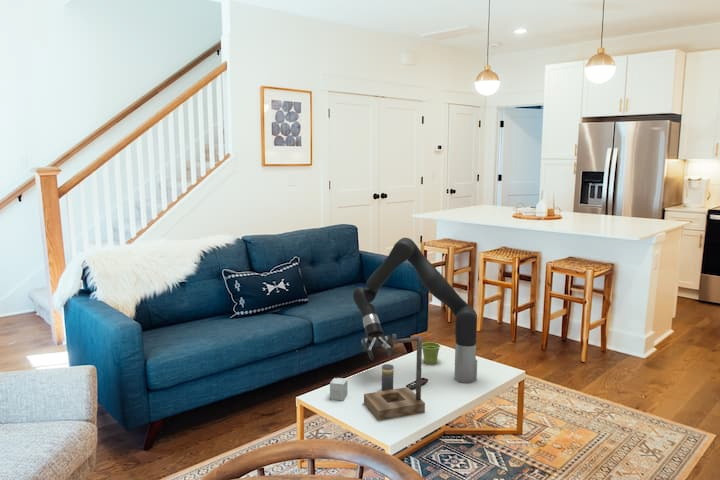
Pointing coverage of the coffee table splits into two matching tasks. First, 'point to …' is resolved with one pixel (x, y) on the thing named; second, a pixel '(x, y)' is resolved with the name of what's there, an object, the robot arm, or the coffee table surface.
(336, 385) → the skincare box
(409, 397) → the wooden gallows stand
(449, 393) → the coffee table surface
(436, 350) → the plant pot
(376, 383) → the coffee table surface
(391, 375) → the banded grey cylinder
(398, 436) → the coffee table surface
